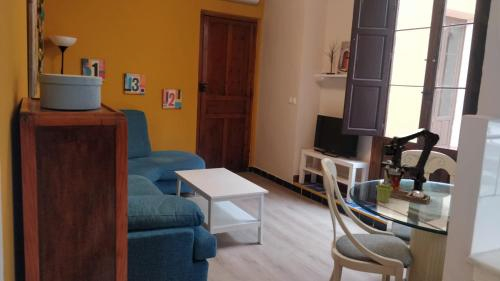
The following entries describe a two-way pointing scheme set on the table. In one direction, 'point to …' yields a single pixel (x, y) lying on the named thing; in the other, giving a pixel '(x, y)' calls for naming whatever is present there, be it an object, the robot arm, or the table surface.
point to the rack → (408, 196)
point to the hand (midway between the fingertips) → (394, 179)
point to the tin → (418, 194)
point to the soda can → (394, 180)
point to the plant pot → (383, 193)
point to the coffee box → (386, 174)
